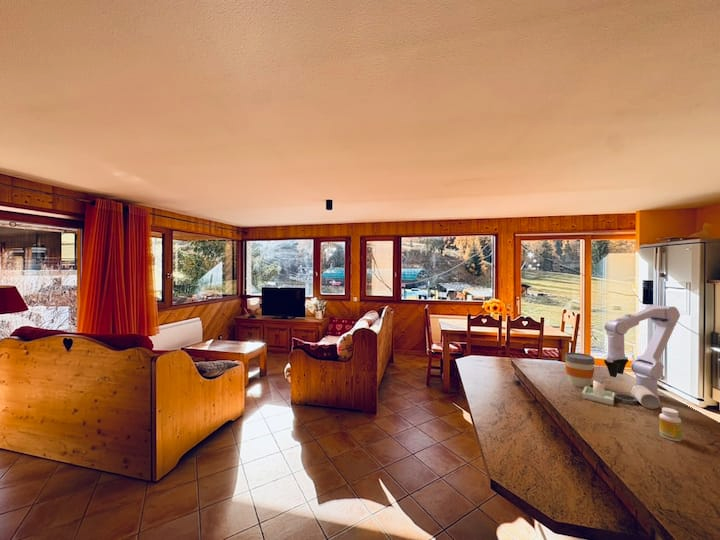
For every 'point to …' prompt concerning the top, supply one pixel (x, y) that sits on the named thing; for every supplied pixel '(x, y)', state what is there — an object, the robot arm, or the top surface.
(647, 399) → the can
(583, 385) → the reusable coffee cup
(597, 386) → the peg
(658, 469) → the top surface
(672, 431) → the supplement bottle
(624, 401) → the collar
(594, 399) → the tray
